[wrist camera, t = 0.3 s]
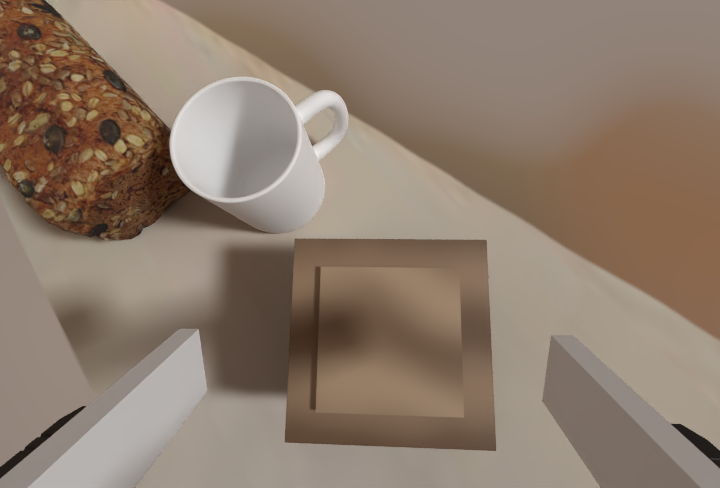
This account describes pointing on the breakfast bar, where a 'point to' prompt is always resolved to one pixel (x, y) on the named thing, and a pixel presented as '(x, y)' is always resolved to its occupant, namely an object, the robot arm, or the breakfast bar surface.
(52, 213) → the bread
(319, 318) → the lid
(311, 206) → the cup
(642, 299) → the breakfast bar surface
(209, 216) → the breakfast bar surface
